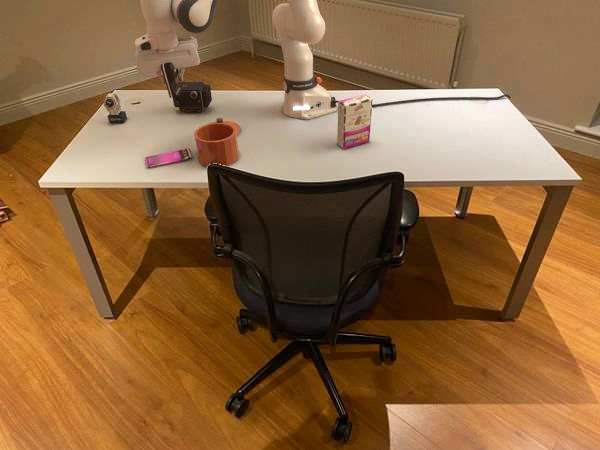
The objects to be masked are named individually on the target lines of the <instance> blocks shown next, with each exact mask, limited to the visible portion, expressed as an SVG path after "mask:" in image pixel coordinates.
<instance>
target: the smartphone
mask: <svg viewBox="0 0 600 450" xmlns="http://www.w3.org/2000/svg"><path fill="white" fill-rule="evenodd" d="M192 159H193V155H192V152H191V149H190V148H189V147H187V148H182V149H178V150H177V149H176V150H173V151H168V152H162V153H158V154H153V155H149V156H145V160H146V166H147V168H149V169H150V168H154V167H159V166H164V165H168V164H174V163H178V162H183V161H187V160H192Z"/></svg>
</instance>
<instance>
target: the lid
mask: <svg viewBox="0 0 600 450" xmlns="http://www.w3.org/2000/svg"><path fill="white" fill-rule="evenodd" d="M211 123H226V124H230V125H232V126H233V127H234V128H235V129H236V135H237V136H238V134H239V133H240V132H241V126H240V124H239V123H237V122H235V121H231V120H223V118H221V117H218V118H216V119H215V121H212V122H209V123H208V124H211Z"/></svg>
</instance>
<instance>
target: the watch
mask: <svg viewBox="0 0 600 450" xmlns="http://www.w3.org/2000/svg"><path fill="white" fill-rule="evenodd" d="M102 104H103V107H104V108H105V109H106V112H108V115H107V119H108V122H109V124H125V122H126V121H127V120H128V116H127V113H126V110H121V109H122V107H121V106H122V105H121V99H120V98H119V95H118V94H117V93H115V92H113V93H112V92H111V93H107V95H106V96H105V98H104V99H103V101H102Z"/></svg>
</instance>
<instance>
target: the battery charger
mask: <svg viewBox="0 0 600 450" xmlns="http://www.w3.org/2000/svg"><path fill="white" fill-rule="evenodd" d="M161 70H162V71H161V74H162V77H164V80H165V84H164V85H165V86H166V90H167V93H168V97H169V99H173V98H174V97H178V96H179V95H180V93H181V88H180V87H179V86H178V85H177V83H178V82H177V81H176V79H177V78H178V75H179V74H180V73H179V68H178V69H175V68H174V65H173V64H172V63H170V62H169V63H165V64H164V63H163V64H161Z"/></svg>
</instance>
